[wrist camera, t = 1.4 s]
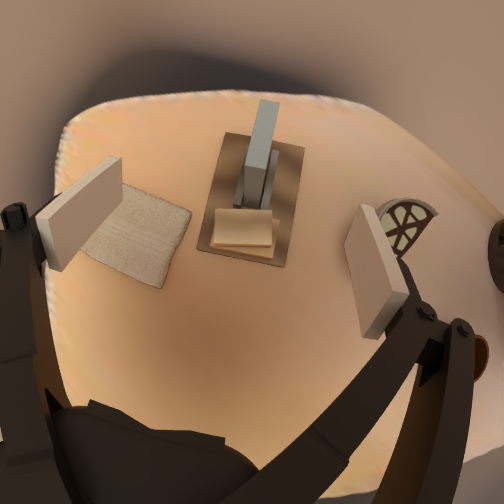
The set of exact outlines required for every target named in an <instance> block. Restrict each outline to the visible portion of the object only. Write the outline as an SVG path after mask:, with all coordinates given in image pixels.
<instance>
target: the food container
mask: <svg viewBox="0 0 504 504" xmlns="http://www.w3.org/2000/svg"><path fill="white" fill-rule="evenodd" d="M376 214H377V217H378V219H379V221H380V223H381V225H382V227H383V230H384V232H385V234H386V236H387V239H388V241H389V243H390V246H391V248H392V250H393V253H394V255H395V257H396V258H399V259H400V258H401V257H402V256H403V255H404V254H405V253H406V252H407V250H408V249H409V248H410V247H411V246H412V245H413V244H414V242H415V241H416V240H417V238H418V237H419V235H420V234H421V233H422V231H423V230H424V229H425V227H426V226H427V225H428V223H429V222H430V221H431V219H432V218H433V217H435V216H437V215H439V213H438V212H437V211H436V210H435V209H434V208H433V207H431V206H430V205H429V204H427V203H426V202H424V201H421V200H418V199H414V198H399V199H394V200H391V201H388V202H386V203H385V204H383V205H382V206H381V207H380V208H378V210H377V211H376Z"/></svg>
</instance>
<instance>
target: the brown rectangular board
mask: <svg viewBox="0 0 504 504" xmlns="http://www.w3.org/2000/svg"><path fill="white" fill-rule="evenodd" d="M250 141H251V136H245V135H240V134H234V133H228V132H226V134H225V137H224V141H223V144H222V148H221V152H220V156H219V159H218V163H217V167H216V171H215V175H214V178H213V182H212V186H211V190H210V194H209V198H208V202H207V206H206V211H205V215H204V219H203V223H202V227H201V232H200V236H199V240H198V245H197V250H200V251H205V252H210V253H215V254H220V255H224V256H229V257H234V258H239V259H244V260H249V261H254V262H259V263H264V264H269V265H274V266H279V267H285V262H286V257H287V251H288V246H289V240H290V235H291V229H292V224H293V218H294V212H295V206H296V200H297V194H298V188H299V182H300V176H301V169H302V163H303V157H304V150H305V148H304V147H300V146H295V145H291V144H286V143H281V142H277V141H272V143H271V148H270V153H269V158H268V163H267V168H266V172H265V177H264V182H263V187H262V192H261V197H260V202H259V207H258V209H254V208H249V207H244V174H245V162H246V158H247V153H248V149H249V145H250ZM218 208H223V209H250V210H272V218H273V219H278V220H280V222H279V227H278V232H277V238H276V243H275V248H274V254H273V258H272V259H271V260H267V259H262V258H257V257H252V256H247V255H242V254H237V253H232V252H228V251H223V250H218V249H213V248H211V246H210V243H211V238H212V234H213V229H214V225H215V209H218Z"/></svg>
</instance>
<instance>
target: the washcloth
mask: <svg viewBox="0 0 504 504" xmlns="http://www.w3.org/2000/svg"><path fill="white" fill-rule="evenodd" d="M122 188H123V201H122V202H121V203H120V204H119V205H118V206H117V207H116V209H115V210H114V211H113V212H112V213H111V214H110V215H109V216H108V217H107V218H106V220H105V221H104V222H103V223H102V224H101V225H100V226H99V227H98V229H97V230H96V231H95V232H94V233H93V234H92V236H91V237H90V238H89V239H88V240H87V241H86V243H85V244H84V245H83V246H82V247H81V249H80V250H82V251H83V252H85V253H86V254H87V255H88V256H90V257H92V258H94V259H96V260H98V261H100V262H102V263H104V264H106V265H108V266H110V267H112V268H113V269H115V270H117V271H120V272H122V273H125V274H127V275H129V276H131V277H133V278H135V279H136V280H139V281H141V282H143V283H145V284H148V285H151V286H154V287H156V288H159V289H161V287H162V285H163V283H164V281H165V278H166V274H167V273H168V269H169V265H170V260H171V258H172V256H173V253H174V252H175V248H176V247H177V246H178V245H179V243H180V242H181V240H182V237H183V235H184V233H185V230H186V229H187V225H188V223H189V221H190V218H191V215H192V213H191V212H190V211H188V210H186V209H185V208H182V207H179V206H177V205H174V204H172V203H171V204H170V203H169V202H168V201H164V200H163V199H161V198H157V197H154V196H152V195H150V194H147V193H146V192H144V191H143V190H142V191H141V190H138V189H136V188H133V187H132V186H130V185H126V184H124V183H122Z"/></svg>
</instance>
